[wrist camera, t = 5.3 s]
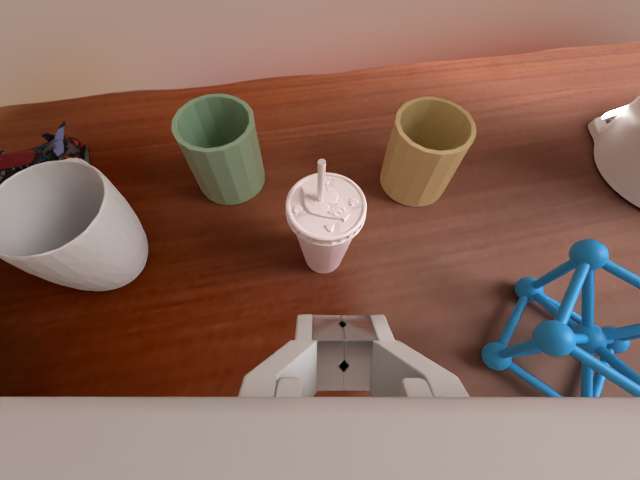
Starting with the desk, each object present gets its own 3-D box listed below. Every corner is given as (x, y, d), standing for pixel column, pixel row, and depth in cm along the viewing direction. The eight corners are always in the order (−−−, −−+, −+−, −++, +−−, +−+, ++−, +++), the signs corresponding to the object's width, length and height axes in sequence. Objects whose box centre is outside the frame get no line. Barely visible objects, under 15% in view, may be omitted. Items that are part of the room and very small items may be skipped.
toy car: (91, 180, 38) (68, 155, 34) (-26, 208, 36) (-64, 184, 32) (90, 142, 41) (68, 116, 37) (-19, 166, 39) (-53, 141, 35)
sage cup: (247, 144, 41) (232, 84, 33) (277, 187, 38) (268, 130, 30) (189, 169, 39) (159, 111, 31) (215, 216, 36) (189, 164, 28)
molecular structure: (586, 440, 27) (721, 453, 18) (472, 360, 29) (541, 337, 20) (618, 339, 30) (743, 309, 22) (515, 277, 33) (588, 227, 24)
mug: (166, 286, 32) (110, 237, 23) (67, 316, 31) (-33, 276, 22) (152, 186, 38) (102, 116, 29) (68, 207, 36) (-12, 140, 27)
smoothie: (318, 219, 36) (320, 117, 24) (366, 252, 34) (396, 161, 22) (279, 261, 34) (258, 171, 21) (328, 299, 32) (338, 225, 19)
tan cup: (416, 146, 41) (439, 87, 34) (458, 188, 38) (493, 133, 31) (366, 171, 39) (379, 113, 32) (407, 218, 36) (431, 166, 29)
